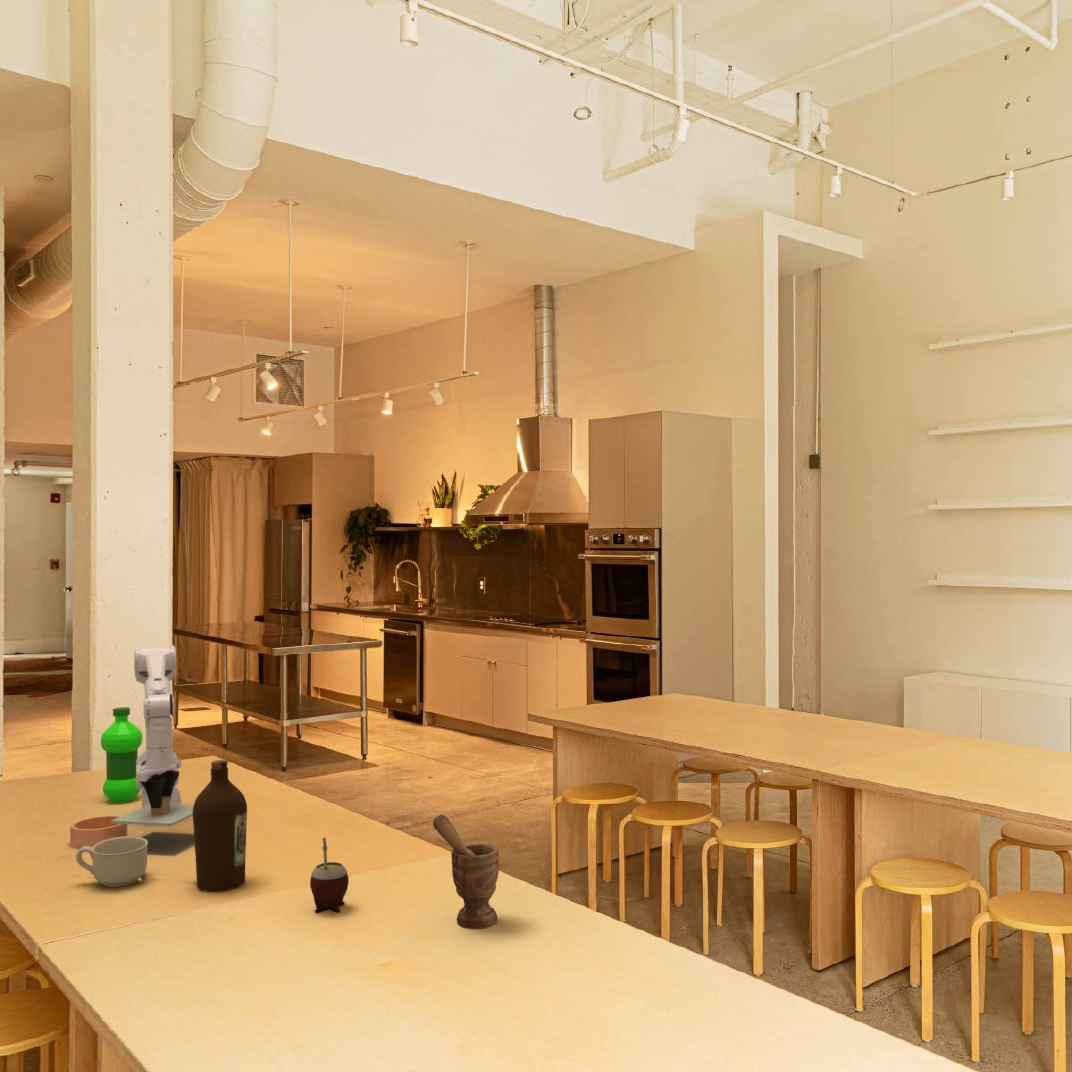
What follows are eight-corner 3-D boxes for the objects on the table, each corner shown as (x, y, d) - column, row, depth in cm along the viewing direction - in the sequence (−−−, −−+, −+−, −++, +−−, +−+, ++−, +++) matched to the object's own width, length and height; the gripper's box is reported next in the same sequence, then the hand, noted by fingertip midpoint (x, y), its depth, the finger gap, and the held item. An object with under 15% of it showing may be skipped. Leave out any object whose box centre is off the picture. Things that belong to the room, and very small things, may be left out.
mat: (153, 835, 246) (153, 831, 246) (213, 838, 243) (213, 835, 243) (110, 855, 231) (110, 851, 231) (174, 859, 227) (174, 855, 227)
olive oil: (186, 893, 205) (185, 767, 205) (202, 876, 215) (200, 756, 215) (240, 892, 205) (239, 766, 205) (253, 875, 216) (251, 755, 216)
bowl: (93, 835, 247) (93, 814, 247) (138, 838, 244) (137, 817, 244) (59, 850, 235) (59, 828, 235) (105, 853, 232) (105, 831, 232)
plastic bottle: (114, 795, 286) (113, 705, 286) (150, 796, 284) (149, 705, 284) (94, 805, 276) (92, 711, 276) (131, 805, 275) (129, 711, 275)
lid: (150, 805, 246) (150, 788, 246) (207, 808, 243) (207, 791, 243) (111, 823, 231) (110, 804, 231) (171, 826, 228) (170, 807, 228)
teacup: (157, 874, 217) (157, 836, 217) (132, 892, 206) (131, 852, 207) (94, 873, 219) (94, 835, 219) (66, 890, 208) (65, 851, 208)
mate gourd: (335, 899, 200) (333, 822, 200) (358, 909, 195) (357, 829, 195) (301, 909, 195) (300, 830, 195) (324, 920, 190) (323, 838, 190)
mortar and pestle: (455, 938, 180) (454, 823, 180) (428, 924, 186) (427, 814, 186) (508, 922, 187) (507, 812, 187) (481, 909, 194) (479, 803, 194)
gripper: (156, 753, 229) (157, 815, 229) (192, 740, 243) (193, 798, 243) (128, 752, 231) (129, 813, 231) (165, 740, 245) (166, 797, 245)
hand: (160, 805), depth 237 cm, fingers closed on lid, 3 cm apart
